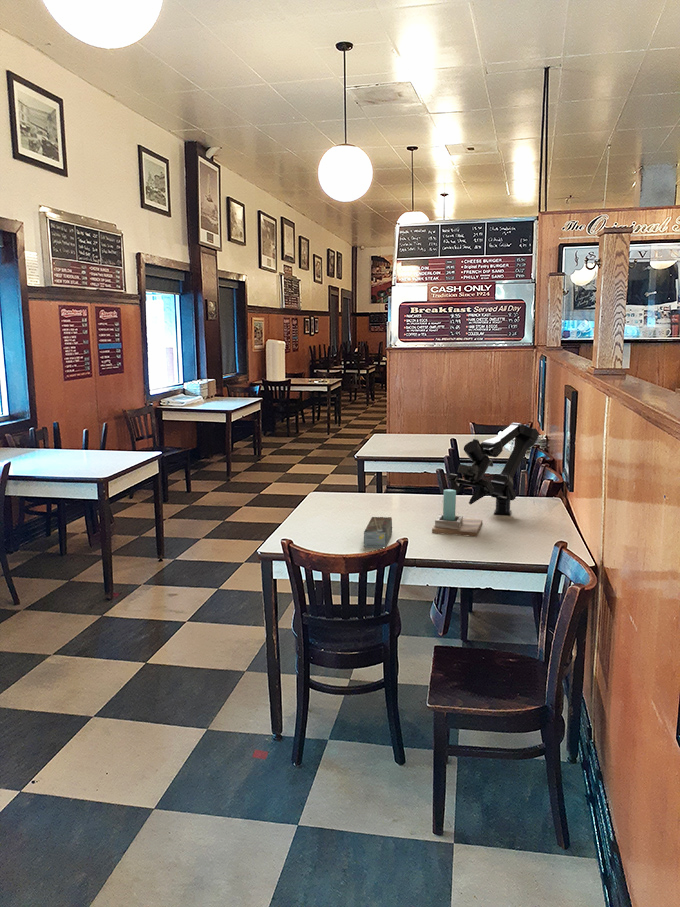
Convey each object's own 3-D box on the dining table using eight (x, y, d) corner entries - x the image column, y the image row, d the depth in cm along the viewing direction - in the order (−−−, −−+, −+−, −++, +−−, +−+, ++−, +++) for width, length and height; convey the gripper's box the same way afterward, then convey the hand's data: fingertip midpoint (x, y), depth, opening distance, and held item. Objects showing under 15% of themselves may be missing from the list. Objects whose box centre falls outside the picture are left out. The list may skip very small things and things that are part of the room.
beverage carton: (362, 548, 238) (362, 529, 237) (371, 532, 257) (371, 515, 256) (386, 549, 237) (386, 530, 236) (392, 533, 255) (392, 516, 254)
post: (452, 522, 262) (453, 489, 260) (456, 526, 258) (457, 491, 256) (441, 523, 262) (441, 489, 259) (445, 526, 257) (446, 492, 255)
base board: (440, 520, 272) (440, 510, 271) (482, 523, 267) (482, 513, 266) (432, 532, 255) (432, 522, 254) (476, 536, 250) (476, 525, 249)
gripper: (450, 453, 270) (431, 485, 265) (490, 459, 256) (470, 493, 251) (462, 470, 276) (444, 501, 271) (502, 477, 263) (483, 510, 257)
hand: (459, 501), depth 262 cm, fingers open, 9 cm apart
